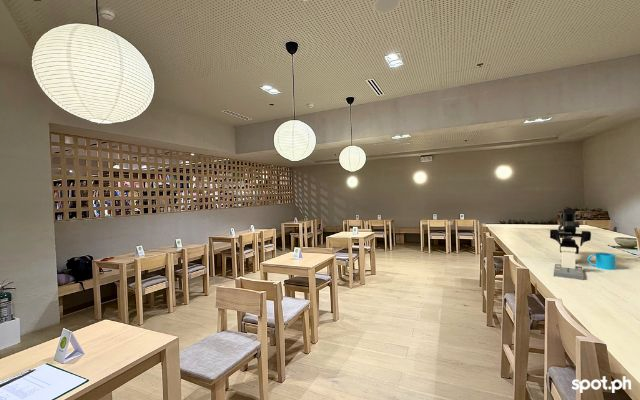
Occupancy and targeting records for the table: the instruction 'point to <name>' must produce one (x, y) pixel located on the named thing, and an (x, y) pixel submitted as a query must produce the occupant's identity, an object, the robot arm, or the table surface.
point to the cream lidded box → (568, 257)
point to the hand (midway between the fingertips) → (570, 244)
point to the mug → (604, 261)
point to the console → (568, 272)
